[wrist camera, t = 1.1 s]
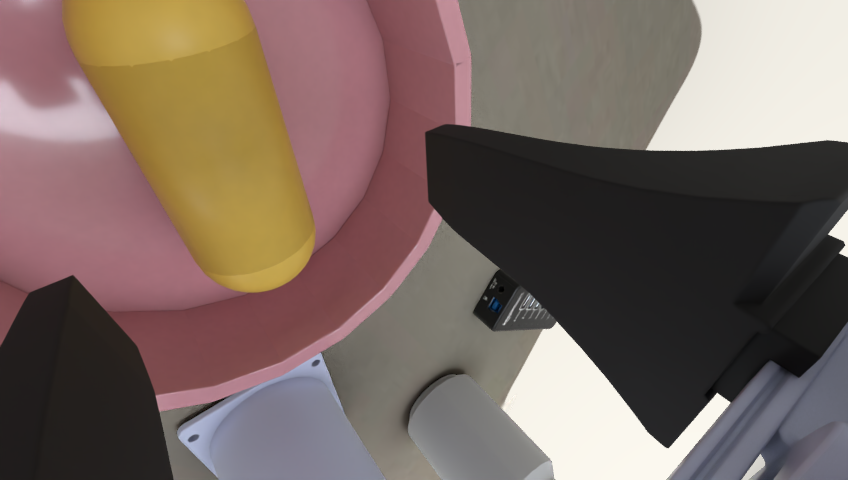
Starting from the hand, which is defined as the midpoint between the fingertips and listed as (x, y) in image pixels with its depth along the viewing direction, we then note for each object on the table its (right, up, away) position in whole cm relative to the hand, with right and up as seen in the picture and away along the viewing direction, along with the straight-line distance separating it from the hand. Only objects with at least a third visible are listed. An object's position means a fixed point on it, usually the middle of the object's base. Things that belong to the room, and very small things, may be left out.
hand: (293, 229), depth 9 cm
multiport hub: (+11, -5, +29) cm, 32 cm away
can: (+4, -15, +30) cm, 33 cm away
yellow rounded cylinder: (-5, +4, +6) cm, 9 cm away
